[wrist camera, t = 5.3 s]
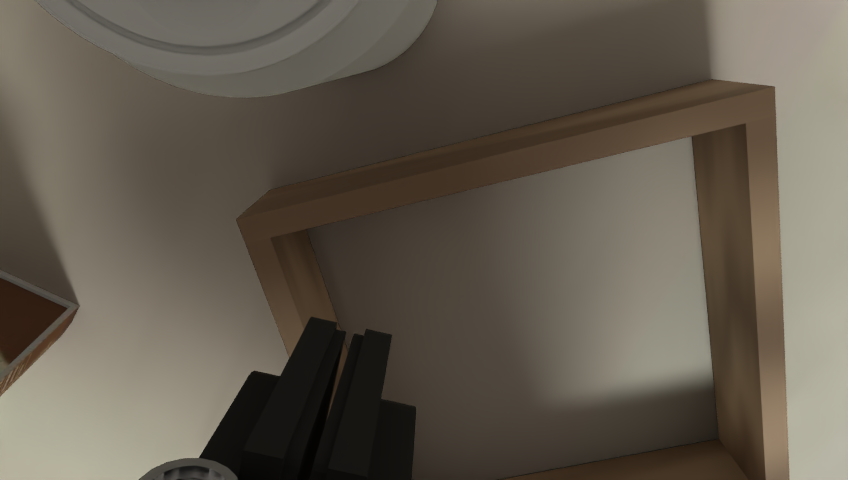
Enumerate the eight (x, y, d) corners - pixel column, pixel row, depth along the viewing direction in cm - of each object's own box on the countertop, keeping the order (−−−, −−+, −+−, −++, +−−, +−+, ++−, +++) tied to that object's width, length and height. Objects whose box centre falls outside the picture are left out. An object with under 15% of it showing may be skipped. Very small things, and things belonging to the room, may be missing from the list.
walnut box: (739, 450, 23) (791, 518, 20) (386, 514, 25) (378, 587, 21) (712, 79, 18) (774, 86, 15) (269, 190, 19) (235, 219, 16)
